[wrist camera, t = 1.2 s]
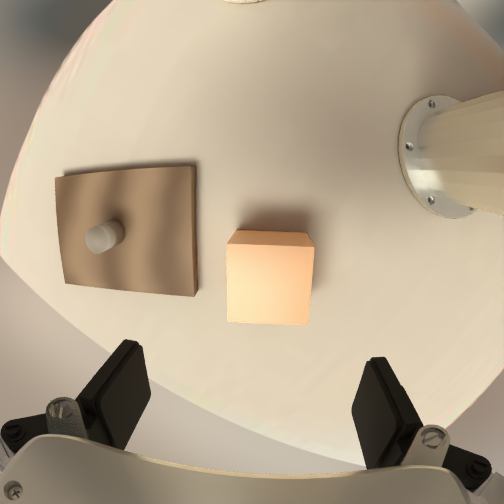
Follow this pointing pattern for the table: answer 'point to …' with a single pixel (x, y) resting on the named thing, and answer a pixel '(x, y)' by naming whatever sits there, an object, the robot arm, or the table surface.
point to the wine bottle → (241, 1)
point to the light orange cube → (269, 277)
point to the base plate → (129, 229)
